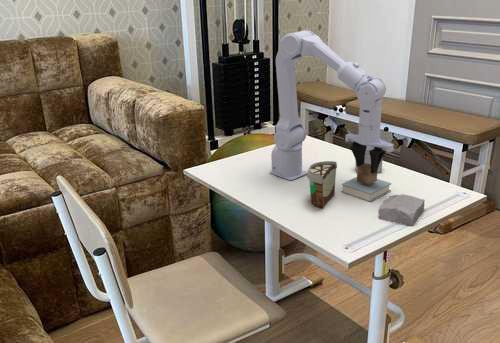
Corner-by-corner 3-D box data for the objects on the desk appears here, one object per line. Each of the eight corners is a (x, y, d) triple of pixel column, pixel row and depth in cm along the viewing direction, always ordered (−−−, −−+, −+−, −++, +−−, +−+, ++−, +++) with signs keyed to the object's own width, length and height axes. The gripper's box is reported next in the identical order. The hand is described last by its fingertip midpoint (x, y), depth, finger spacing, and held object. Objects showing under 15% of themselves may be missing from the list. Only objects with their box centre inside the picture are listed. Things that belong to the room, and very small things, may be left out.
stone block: (376, 226, 128) (415, 227, 122) (373, 208, 127) (413, 209, 121) (390, 209, 137) (427, 210, 132) (387, 193, 136) (425, 193, 131)
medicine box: (379, 168, 160) (381, 142, 156) (382, 173, 155) (383, 147, 152) (354, 168, 160) (356, 142, 157) (356, 173, 156) (357, 147, 153)
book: (341, 192, 143) (341, 184, 142) (361, 181, 150) (362, 174, 149) (370, 202, 136) (371, 193, 135) (390, 191, 143) (391, 183, 142)
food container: (315, 190, 145) (316, 158, 142) (336, 193, 142) (337, 161, 139) (299, 207, 135) (299, 173, 131) (321, 211, 132) (321, 176, 129)
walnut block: (356, 181, 142) (357, 166, 140) (365, 177, 144) (365, 162, 143) (368, 185, 139) (369, 170, 137) (376, 180, 142) (377, 166, 140)
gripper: (401, 125, 133) (397, 172, 138) (356, 116, 143) (354, 160, 148) (386, 131, 129) (383, 180, 134) (341, 121, 139) (339, 167, 144)
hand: (367, 170), depth 140 cm, fingers closed on walnut block, 4 cm apart
